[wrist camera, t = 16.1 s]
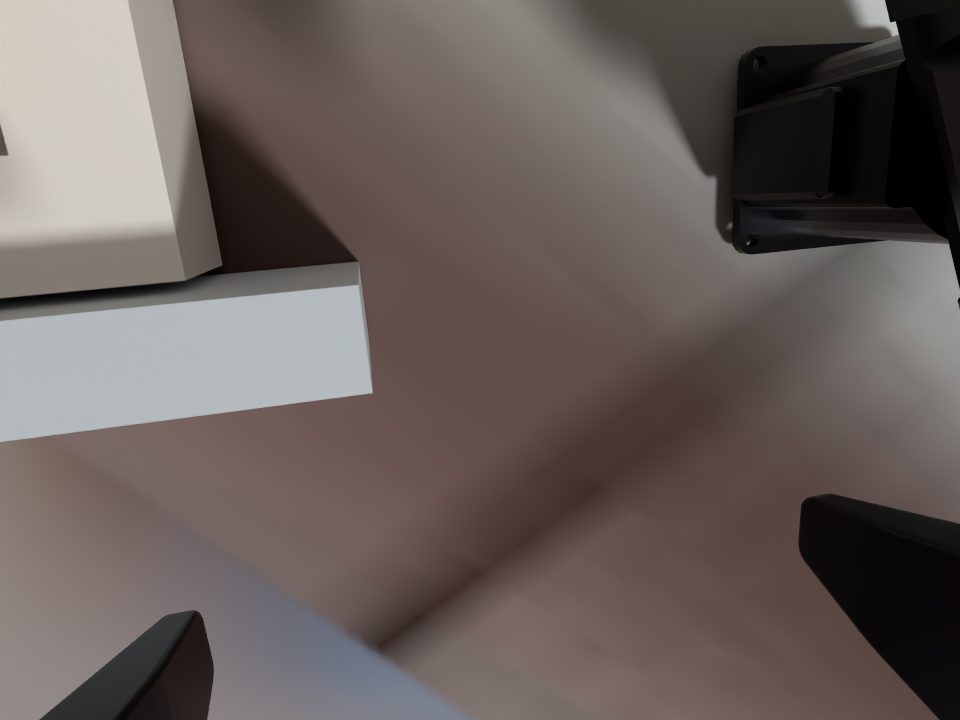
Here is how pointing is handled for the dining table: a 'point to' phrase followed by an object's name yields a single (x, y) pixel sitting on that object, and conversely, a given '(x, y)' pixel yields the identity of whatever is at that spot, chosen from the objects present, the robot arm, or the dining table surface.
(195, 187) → the socket block
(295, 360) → the board
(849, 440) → the dining table surface
